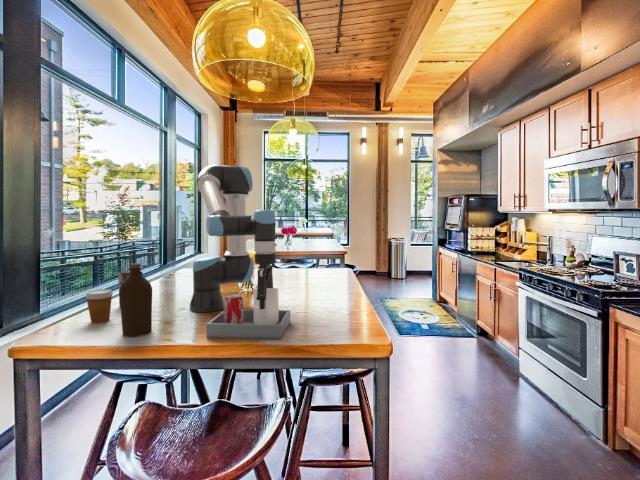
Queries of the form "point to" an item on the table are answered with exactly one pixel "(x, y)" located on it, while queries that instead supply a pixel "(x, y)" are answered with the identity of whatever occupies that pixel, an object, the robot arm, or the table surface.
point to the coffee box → (123, 278)
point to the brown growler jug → (136, 304)
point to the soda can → (233, 309)
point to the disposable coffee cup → (99, 305)
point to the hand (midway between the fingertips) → (265, 314)
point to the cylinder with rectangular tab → (271, 307)
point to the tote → (248, 327)
